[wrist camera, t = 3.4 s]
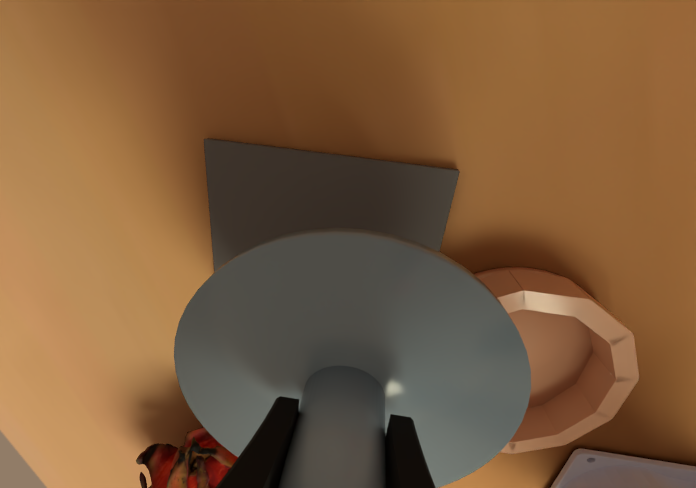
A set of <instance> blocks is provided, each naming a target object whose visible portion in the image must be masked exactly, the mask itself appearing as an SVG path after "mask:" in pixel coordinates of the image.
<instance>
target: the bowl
mask: <svg viewBox="0 0 696 488" xmlns="http://www.w3.org/2000/svg"><path fill="white" fill-rule="evenodd" d="M474 275H475V276H476V277H477V278H479V279H480V280H481V281H482V282H483V283H484V284H485V285H486V286H487V287H488V288H489V289H490V290H491V291H492V293H493V294H494V295H495V296H496V297H497V298H498V299H499V300H500V302H501V303H502V305H503V307H504V308H505V310H506V311H507V313H508V314H509V316H510V318H511V319H512V321H513V323H514V324H515V326H516V328H517V330H518V331H519V334H520V336H521V338H522V341H523V343H524V346H525V348H526V350H527V354H528V359H529V364H530V368H531V392H530V397H529V403H528V407H527V410H526V412H525V415H524V418H523V420H522V423H521V424H520V426H519V428H518V429H517V431H516V433H515V434H514V436H513V437H512V439H511V440H510V441H509V442H508V443H507V445H506V446H505V447H504V448H503V449H502V450H501V451H500V452H502V453H508V454H515V453H521V452H527V451H533V450H539V449H545V448H551V447H557V446H563V445H567V444H568V443H570V442H572V441H574V440H576V439H577V438H579V437H581V436H583V435H585V434H586V433H588V432H590V431H592V430H594V429H595V428H597V427H599V426H601V425H603V424H604V423H606V422H608V421H610V420H612V419H613V417H614V416H615V414H616V413H617V411H618V410H619V408H620V407H621V406H622V404H623V403H624V401H625V400H626V398H627V397H628V395H629V394H630V392H631V391H632V389H633V388H634V386H635V385H636V383H637V382H638V380H639V372H638V364H637V357H636V349H635V341H634V334H633V333H632V332H631V331H630V330H629V329H628V328H627V327H626V326H624V325H623V324H622V323H621V322H620V321H619V320H618V319H617V318H616V317H615V316H614V315H613V314H612V313H610V312H609V311H608V310H607V309H606V308H605V307H604V306H602V305H601V304H600V303H599V302H597V301H596V300H595V299H594V298H592V297H591V296H590V295H589V294H587V293H586V292H585V291H584V290H583V289H582V288H581V287H580V286H578V285H577V284H575V283H574V282H572V281H571V280H570V279H569V278H564V277H562V276H560V275H558V274H555V273H552V272H549V271H545V270H540V269H534V268H524V267H506V268H497V269H490V270H486V271H482V272H478V273H475V274H474Z"/></svg>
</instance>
